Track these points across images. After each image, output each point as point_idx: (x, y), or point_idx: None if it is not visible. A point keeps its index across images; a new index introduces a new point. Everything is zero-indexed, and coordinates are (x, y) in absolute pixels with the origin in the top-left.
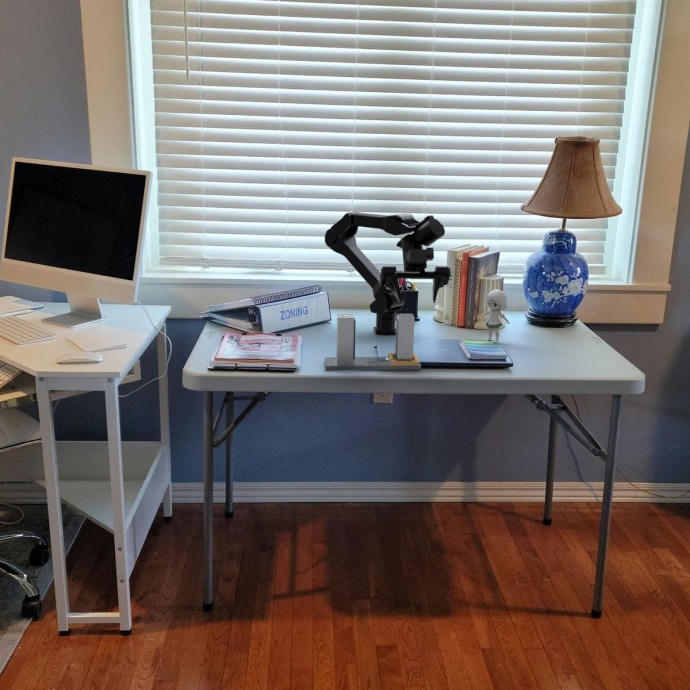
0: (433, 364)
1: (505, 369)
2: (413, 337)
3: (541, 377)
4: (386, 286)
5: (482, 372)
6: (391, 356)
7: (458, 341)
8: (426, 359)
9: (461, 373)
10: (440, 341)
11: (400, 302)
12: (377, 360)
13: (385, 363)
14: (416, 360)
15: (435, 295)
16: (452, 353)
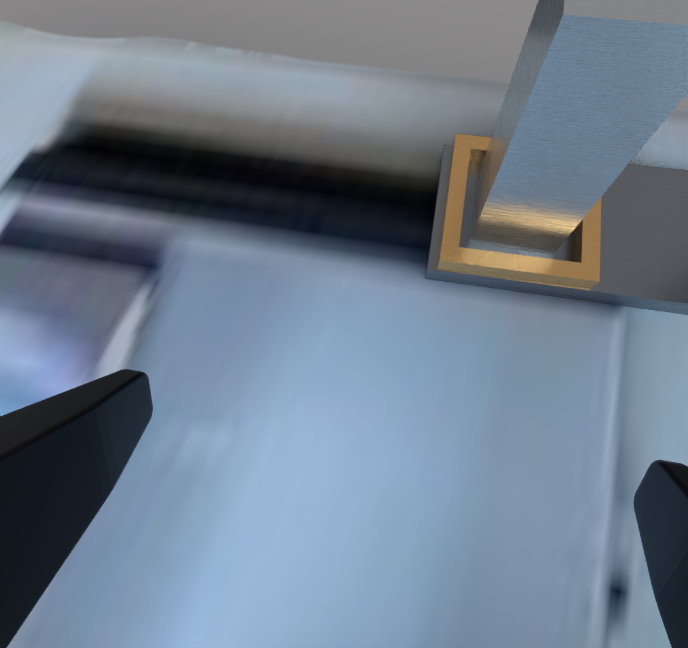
0: (356, 223)
1: (80, 124)
2: (518, 61)
3: (10, 34)
4: None
5: (190, 104)
6: (587, 226)
7: (33, 614)
8: (364, 299)
9: (280, 103)
10: (143, 642)
11: (649, 480)
12: (656, 242)
13: (618, 192)
14: (465, 151)
15: (58, 405)
16: (189, 374)
